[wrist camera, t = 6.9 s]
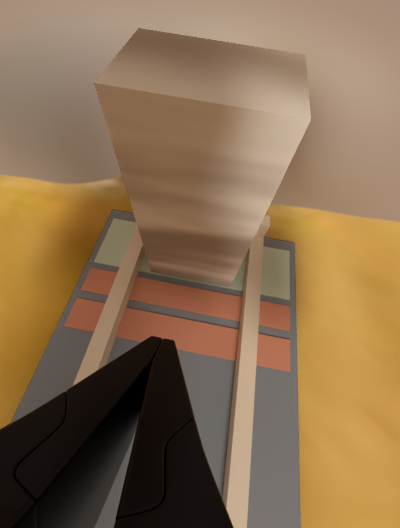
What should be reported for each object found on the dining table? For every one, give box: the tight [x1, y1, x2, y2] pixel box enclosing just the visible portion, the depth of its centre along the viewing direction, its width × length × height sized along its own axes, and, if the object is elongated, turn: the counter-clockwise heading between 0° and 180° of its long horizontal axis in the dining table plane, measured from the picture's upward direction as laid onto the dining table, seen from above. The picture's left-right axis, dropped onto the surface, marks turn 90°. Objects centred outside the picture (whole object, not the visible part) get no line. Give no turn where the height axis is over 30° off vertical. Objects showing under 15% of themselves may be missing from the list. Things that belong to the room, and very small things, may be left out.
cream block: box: [94, 28, 311, 287], centre depth 12 cm, size 4×6×12 cm, turn 80°
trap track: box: [10, 209, 301, 528], centre depth 13 cm, size 24×16×3 cm
